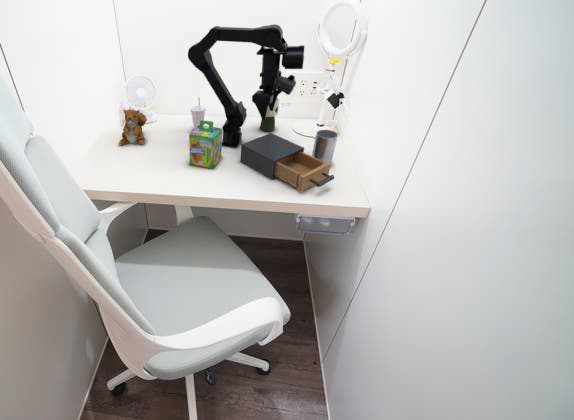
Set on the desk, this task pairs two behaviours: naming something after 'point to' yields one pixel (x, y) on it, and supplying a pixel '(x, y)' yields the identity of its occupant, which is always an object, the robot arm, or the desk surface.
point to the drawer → (303, 171)
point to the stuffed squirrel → (133, 127)
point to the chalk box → (205, 145)
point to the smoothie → (197, 114)
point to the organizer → (267, 153)
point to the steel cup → (324, 145)
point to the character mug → (270, 118)
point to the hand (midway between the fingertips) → (267, 114)
